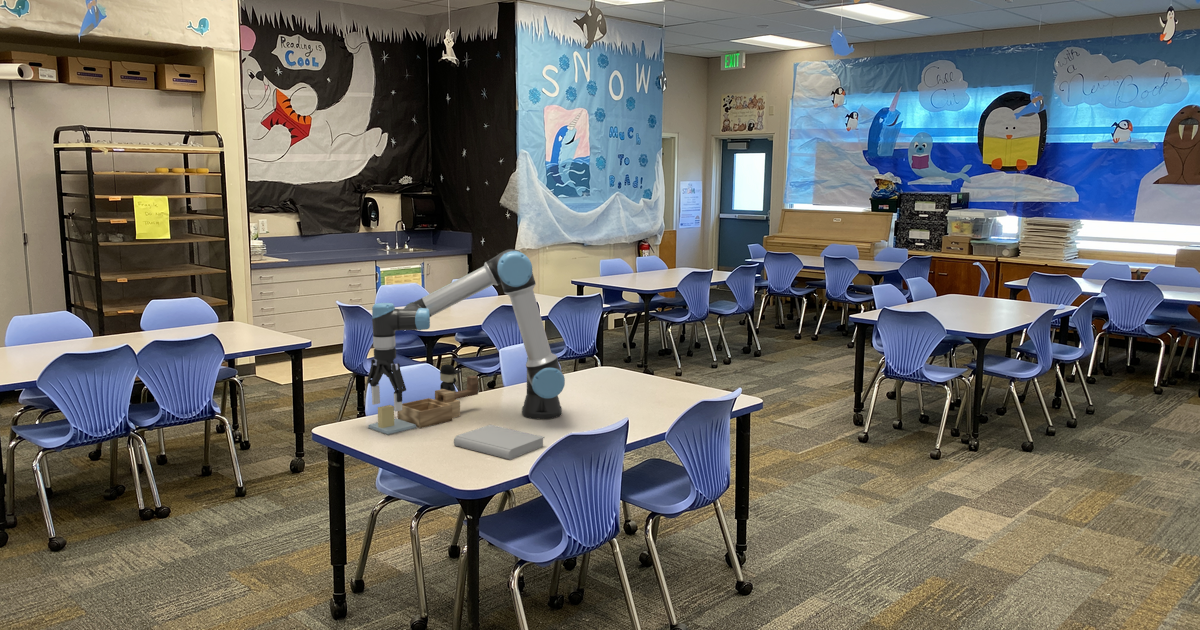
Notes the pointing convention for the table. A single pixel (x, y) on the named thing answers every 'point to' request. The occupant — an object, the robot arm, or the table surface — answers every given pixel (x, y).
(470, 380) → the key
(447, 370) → the toy
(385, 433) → the mat
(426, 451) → the table surface
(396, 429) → the lid
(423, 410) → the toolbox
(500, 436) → the book
